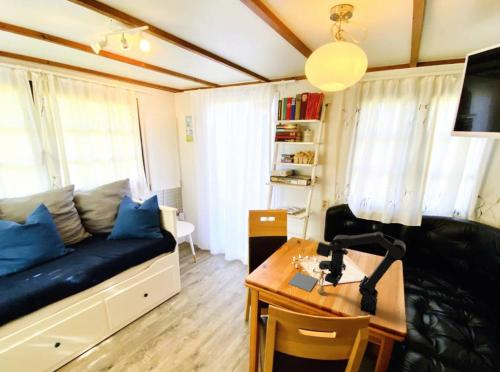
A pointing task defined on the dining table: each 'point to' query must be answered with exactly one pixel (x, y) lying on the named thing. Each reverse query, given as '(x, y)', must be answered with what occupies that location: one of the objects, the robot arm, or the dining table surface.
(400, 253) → the robot arm
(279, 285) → the dining table surface
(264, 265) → the dining table surface
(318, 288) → the figurine
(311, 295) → the dining table surface
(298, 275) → the mat
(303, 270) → the game piece set
